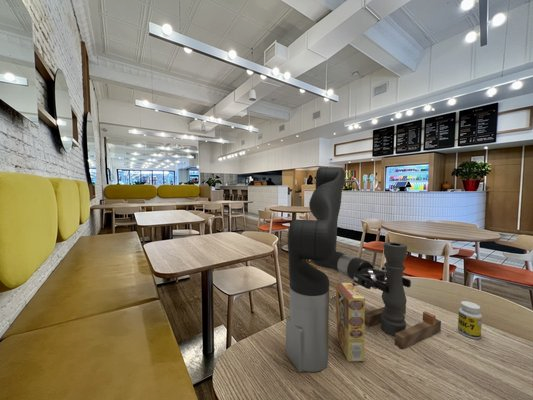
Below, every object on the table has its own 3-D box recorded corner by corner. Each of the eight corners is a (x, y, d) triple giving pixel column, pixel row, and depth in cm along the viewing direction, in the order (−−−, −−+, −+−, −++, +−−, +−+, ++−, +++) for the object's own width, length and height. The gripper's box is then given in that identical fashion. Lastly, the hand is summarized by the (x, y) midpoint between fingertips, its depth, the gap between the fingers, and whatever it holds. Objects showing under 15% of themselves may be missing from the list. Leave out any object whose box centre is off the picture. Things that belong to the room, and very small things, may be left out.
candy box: (365, 362, 51) (366, 298, 51) (347, 362, 51) (348, 298, 51) (350, 336, 60) (351, 282, 60) (334, 337, 60) (335, 282, 59)
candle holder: (398, 324, 66) (401, 242, 65) (410, 338, 60) (413, 247, 58) (377, 323, 66) (379, 241, 65) (386, 336, 60) (388, 247, 59)
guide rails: (403, 350, 55) (404, 329, 55) (362, 322, 67) (362, 305, 66) (441, 331, 62) (442, 312, 62) (398, 309, 74) (399, 293, 74)
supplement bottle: (454, 331, 63) (455, 302, 62) (462, 326, 65) (464, 298, 64) (475, 341, 58) (477, 310, 58) (484, 336, 60) (485, 306, 60)
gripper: (338, 260, 72) (383, 277, 58) (369, 254, 78) (416, 269, 64) (338, 282, 73) (382, 305, 58) (368, 275, 79) (415, 294, 64)
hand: (400, 286), depth 61 cm, fingers open, 8 cm apart
